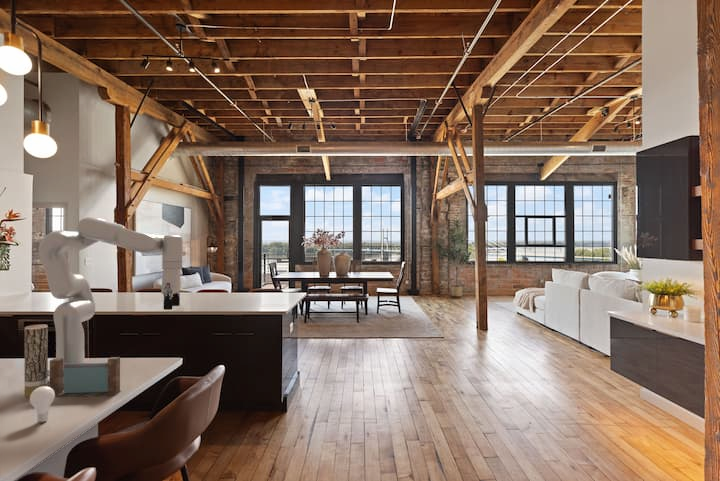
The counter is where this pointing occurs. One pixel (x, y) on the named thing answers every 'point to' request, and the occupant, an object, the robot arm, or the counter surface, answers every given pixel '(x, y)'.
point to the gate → (85, 377)
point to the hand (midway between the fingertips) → (171, 307)
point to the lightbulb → (42, 401)
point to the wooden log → (36, 357)
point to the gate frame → (113, 389)
